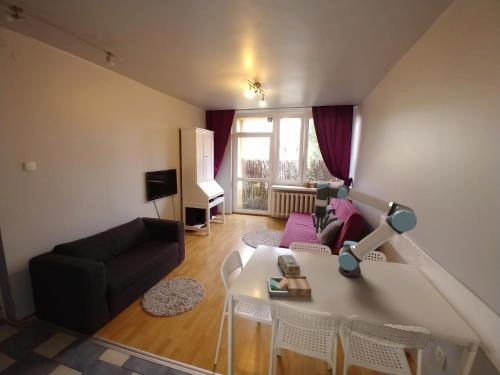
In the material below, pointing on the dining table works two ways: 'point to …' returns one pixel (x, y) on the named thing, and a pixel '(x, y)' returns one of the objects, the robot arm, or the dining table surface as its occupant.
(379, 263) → the dining table surface
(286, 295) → the box
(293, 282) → the brown wooden tray
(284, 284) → the tile
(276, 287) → the tile
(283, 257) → the toy car
